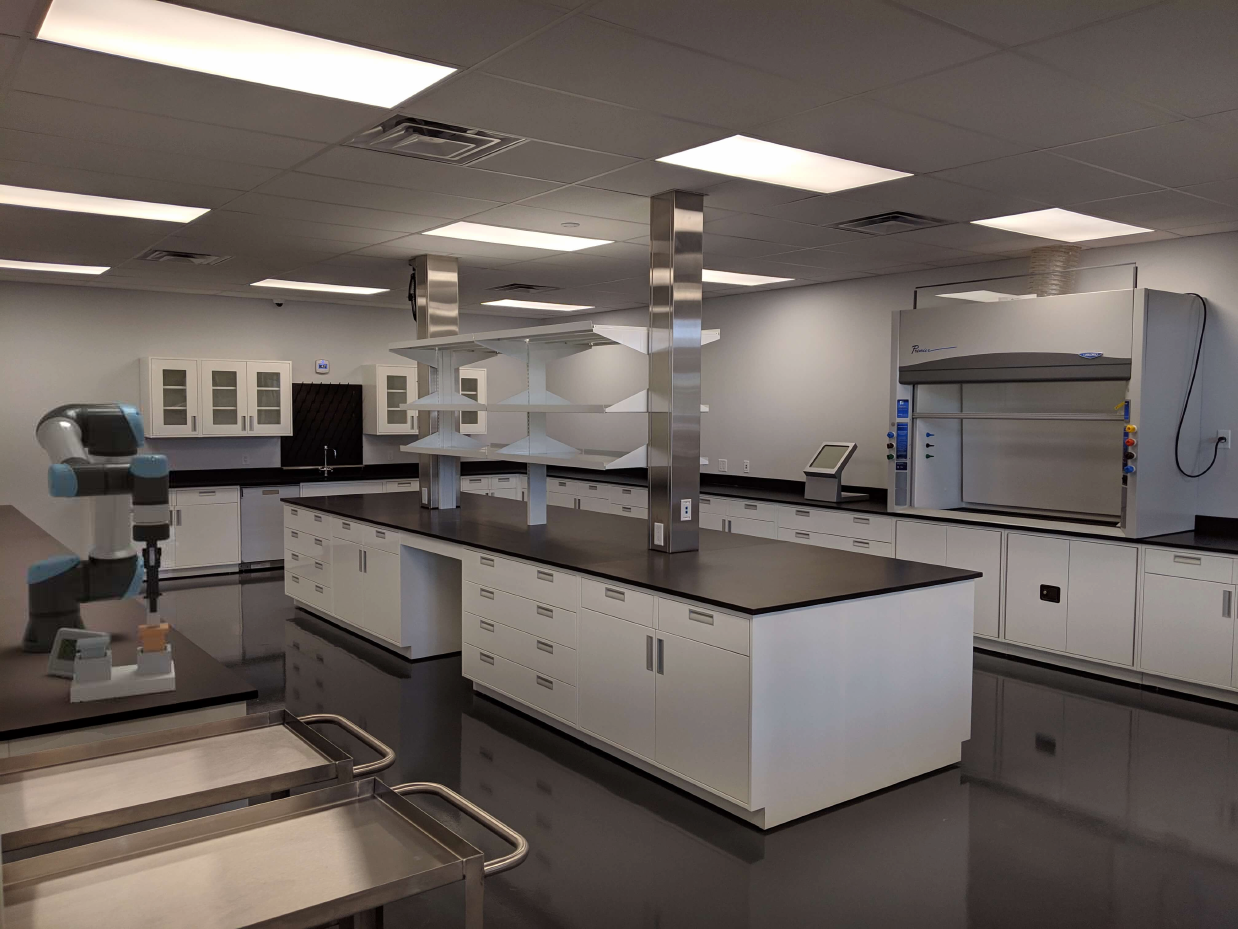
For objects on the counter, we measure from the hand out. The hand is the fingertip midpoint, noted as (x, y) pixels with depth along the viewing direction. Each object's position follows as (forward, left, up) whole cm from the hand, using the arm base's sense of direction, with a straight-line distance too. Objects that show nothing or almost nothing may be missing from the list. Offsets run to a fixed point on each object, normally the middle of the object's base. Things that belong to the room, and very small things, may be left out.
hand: (153, 625), depth 204 cm
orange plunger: (0, 0, -8) cm, 8 cm away
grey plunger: (0, -12, -10) cm, 16 cm away
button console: (0, -6, -13) cm, 15 cm away
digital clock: (-15, -16, -14) cm, 26 cm away
